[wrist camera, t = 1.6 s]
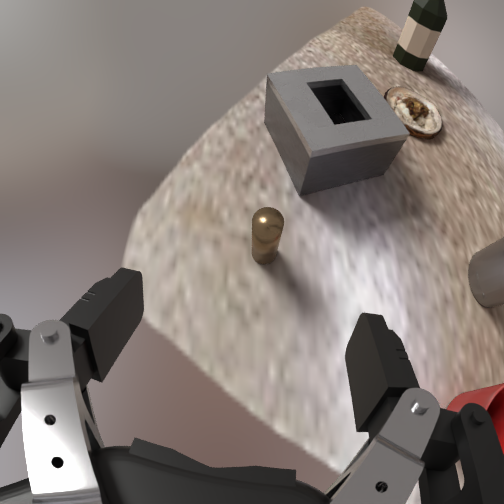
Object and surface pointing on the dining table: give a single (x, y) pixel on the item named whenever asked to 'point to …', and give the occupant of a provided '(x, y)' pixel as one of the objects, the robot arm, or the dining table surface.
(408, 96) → the plate of food
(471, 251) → the dining table surface
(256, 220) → the brown glossy cylinder
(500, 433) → the flower pot
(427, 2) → the wine bottle
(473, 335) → the dining table surface
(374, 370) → the robot arm
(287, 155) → the box
